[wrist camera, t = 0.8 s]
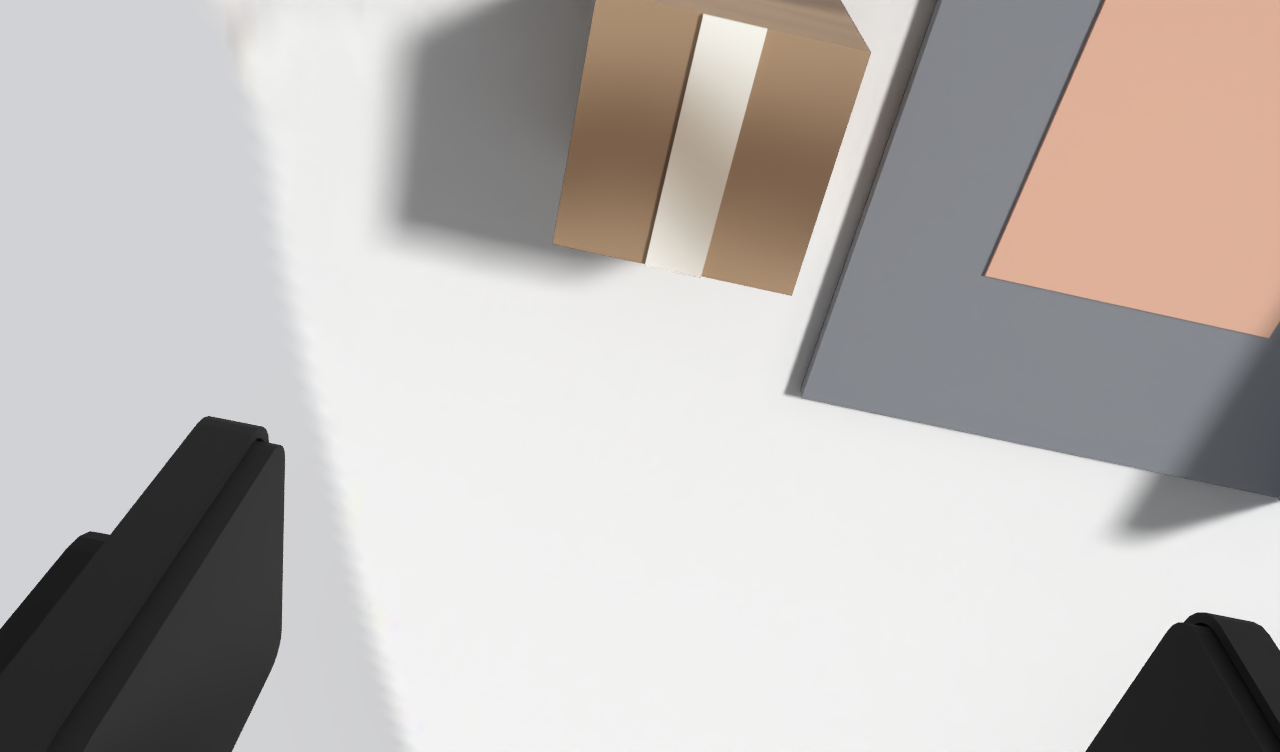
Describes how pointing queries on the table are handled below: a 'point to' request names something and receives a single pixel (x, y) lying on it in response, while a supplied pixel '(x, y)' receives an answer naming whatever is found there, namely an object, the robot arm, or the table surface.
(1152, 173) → the arena
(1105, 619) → the table surface
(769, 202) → the brown cardboard box
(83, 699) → the robot arm
